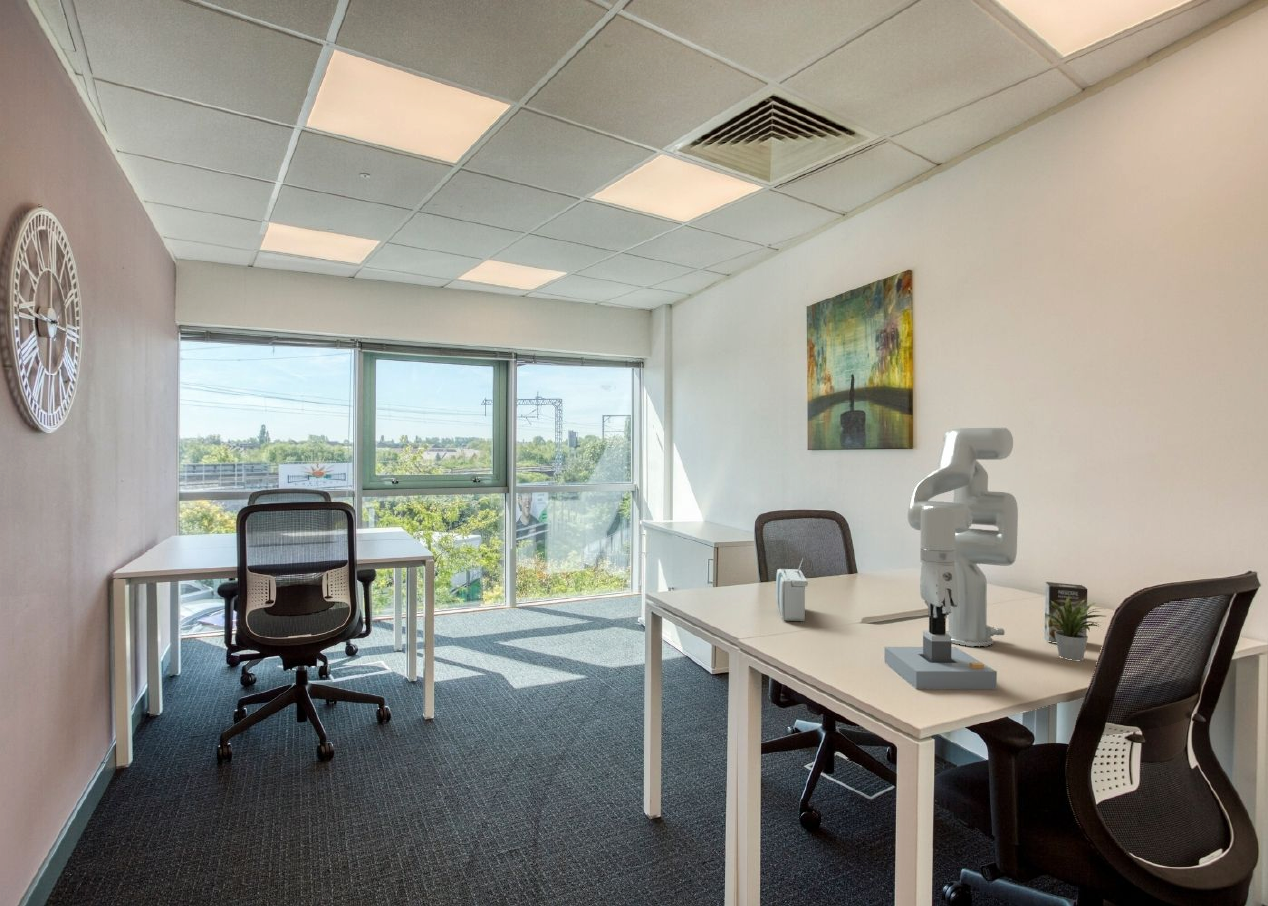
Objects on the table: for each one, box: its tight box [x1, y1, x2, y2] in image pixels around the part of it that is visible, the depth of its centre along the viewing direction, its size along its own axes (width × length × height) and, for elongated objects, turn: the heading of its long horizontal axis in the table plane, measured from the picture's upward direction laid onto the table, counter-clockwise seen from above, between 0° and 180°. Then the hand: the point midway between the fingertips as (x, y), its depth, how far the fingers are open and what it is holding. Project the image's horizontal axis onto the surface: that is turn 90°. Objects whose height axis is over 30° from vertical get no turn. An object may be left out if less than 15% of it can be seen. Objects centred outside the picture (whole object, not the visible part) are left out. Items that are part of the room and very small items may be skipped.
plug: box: [922, 630, 952, 663], centre depth 151 cm, size 5×5×10 cm
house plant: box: [1046, 594, 1106, 660], centre depth 163 cm, size 14×14×16 cm
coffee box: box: [1044, 581, 1088, 642], centre depth 178 cm, size 9×6×16 cm
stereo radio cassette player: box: [775, 557, 809, 622], centre depth 208 cm, size 21×8×20 cm, turn 172°
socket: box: [883, 646, 998, 690], centre depth 151 cm, size 18×18×5 cm
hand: (937, 633), depth 151 cm, fingers closed
